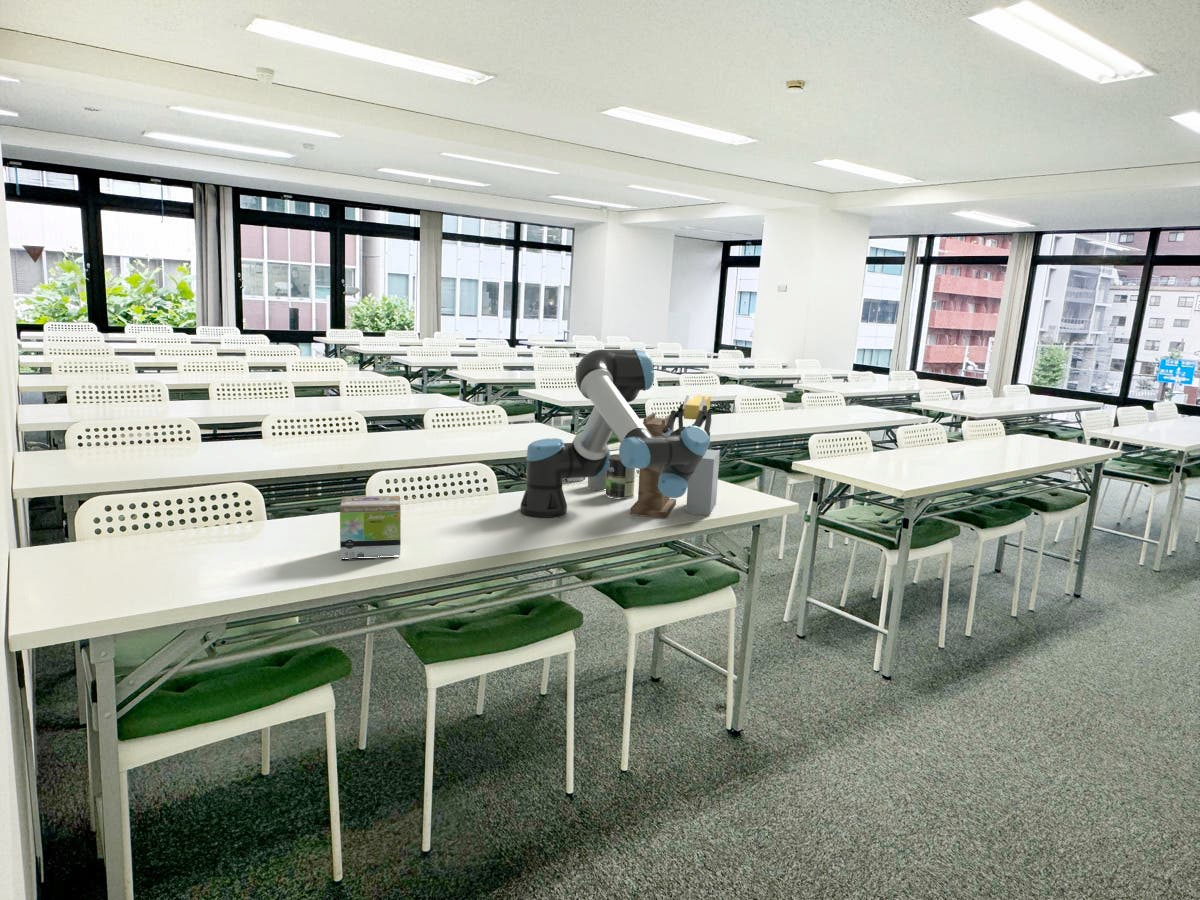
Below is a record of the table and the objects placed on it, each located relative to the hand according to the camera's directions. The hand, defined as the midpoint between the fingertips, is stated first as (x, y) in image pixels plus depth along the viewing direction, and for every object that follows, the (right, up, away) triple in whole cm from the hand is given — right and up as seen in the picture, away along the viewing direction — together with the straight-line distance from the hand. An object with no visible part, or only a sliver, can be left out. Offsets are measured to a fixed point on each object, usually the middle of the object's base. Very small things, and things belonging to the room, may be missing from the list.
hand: (695, 399), depth 217 cm
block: (+1, -4, +6) cm, 7 cm away
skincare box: (-39, -26, +72) cm, 86 cm away
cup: (-28, -29, +59) cm, 72 cm away
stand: (-10, -35, +33) cm, 49 cm away
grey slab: (+7, -35, +37) cm, 51 cm away
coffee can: (-21, -31, +49) cm, 62 cm away
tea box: (-88, -42, -20) cm, 100 cm away
